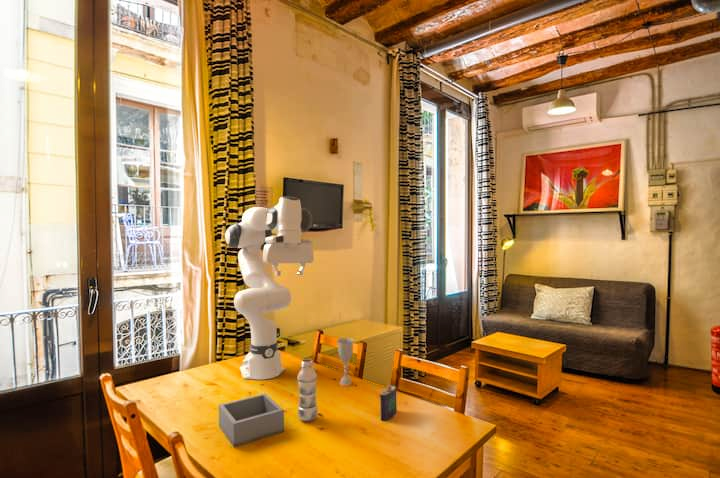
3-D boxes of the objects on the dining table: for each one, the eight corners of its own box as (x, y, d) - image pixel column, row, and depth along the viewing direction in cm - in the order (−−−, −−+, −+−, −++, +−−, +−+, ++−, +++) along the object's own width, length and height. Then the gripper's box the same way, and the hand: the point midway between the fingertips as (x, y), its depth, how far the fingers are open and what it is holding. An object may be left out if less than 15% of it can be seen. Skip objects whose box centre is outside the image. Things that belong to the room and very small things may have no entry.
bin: (218, 425, 132) (218, 404, 132) (265, 413, 141) (265, 393, 141) (233, 447, 119) (233, 423, 119) (284, 431, 128) (283, 409, 128)
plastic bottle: (314, 424, 132) (313, 364, 132) (295, 423, 134) (294, 363, 133) (320, 415, 139) (319, 358, 138) (301, 414, 140) (301, 357, 140)
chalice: (346, 378, 173) (346, 337, 173) (357, 382, 169) (357, 340, 168) (333, 383, 168) (333, 340, 168) (344, 387, 163) (344, 343, 163)
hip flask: (391, 409, 143) (391, 380, 143) (399, 411, 141) (398, 381, 141) (378, 420, 135) (378, 388, 135) (386, 422, 133) (386, 390, 133)
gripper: (308, 239, 161) (307, 274, 161) (261, 238, 148) (260, 275, 147) (317, 239, 156) (316, 275, 156) (269, 237, 143) (268, 276, 143)
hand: (288, 275), depth 151 cm, fingers open, 8 cm apart
